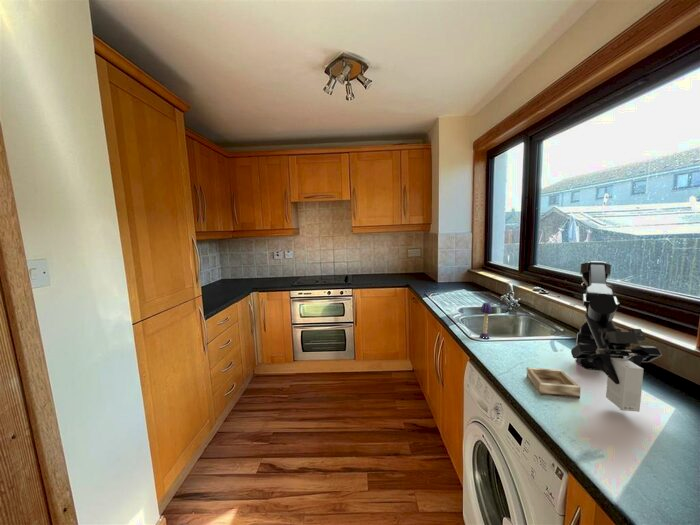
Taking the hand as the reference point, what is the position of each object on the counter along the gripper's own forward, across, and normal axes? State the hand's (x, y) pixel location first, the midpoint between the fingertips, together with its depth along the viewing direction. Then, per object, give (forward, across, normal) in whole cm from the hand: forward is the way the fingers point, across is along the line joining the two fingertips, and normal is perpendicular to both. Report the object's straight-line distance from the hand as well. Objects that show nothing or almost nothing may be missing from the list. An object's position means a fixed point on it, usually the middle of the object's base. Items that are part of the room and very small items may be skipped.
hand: (628, 384), depth 72 cm
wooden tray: (-2, -12, +15) cm, 20 cm away
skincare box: (+4, 0, +6) cm, 7 cm away
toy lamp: (-29, -22, +43) cm, 57 cm away
